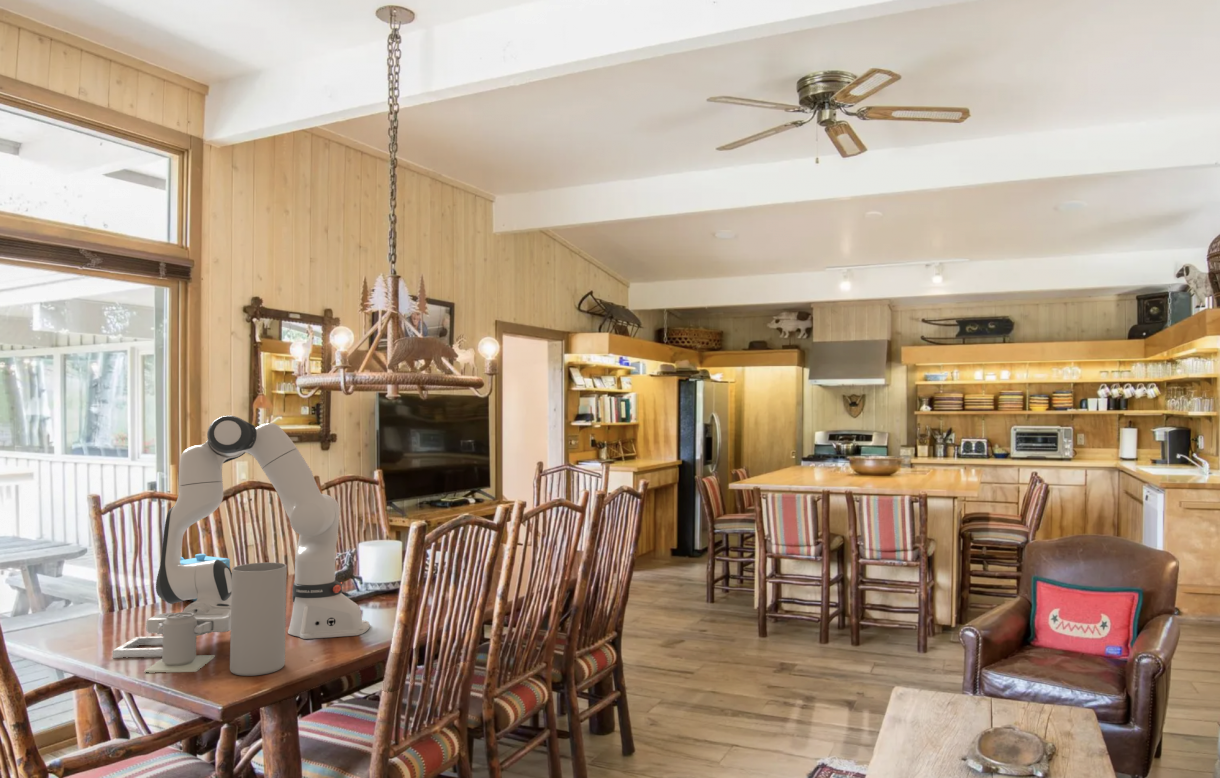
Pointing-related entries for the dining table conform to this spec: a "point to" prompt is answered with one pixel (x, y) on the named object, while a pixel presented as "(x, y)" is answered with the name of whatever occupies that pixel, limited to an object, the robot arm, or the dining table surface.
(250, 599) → the cylinder vase
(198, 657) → the tile
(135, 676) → the dining table surface
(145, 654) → the square picture frame
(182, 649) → the can
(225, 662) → the dining table surface
